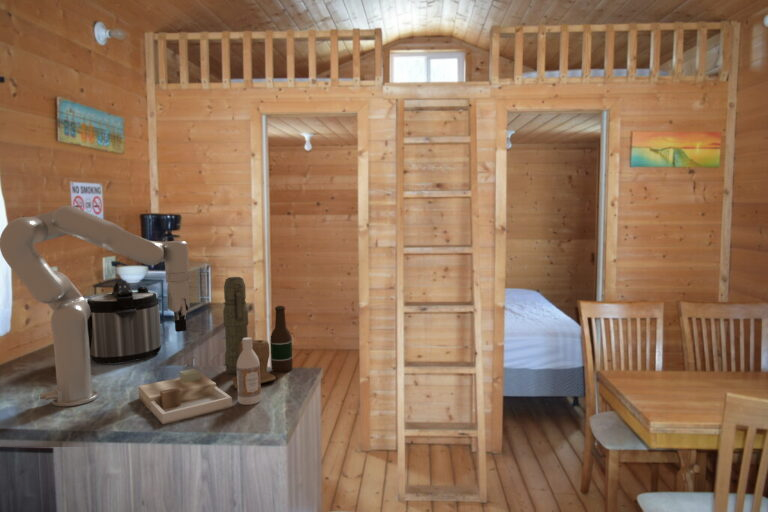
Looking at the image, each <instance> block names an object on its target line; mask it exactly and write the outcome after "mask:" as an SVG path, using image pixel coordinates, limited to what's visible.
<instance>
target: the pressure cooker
mask: <svg viewBox="0 0 768 512" xmlns="http://www.w3.org/2000/svg"><path fill="white" fill-rule="evenodd" d="M112 288H113V289H112V290H113V291H112V292H111V293H107V294H106V293H104V294H101V295H97V296H94V297H93V296H92V297H89V298H88V299H87V300H86V301H87V303H88V304H89V306H90V311H91V312H90V316H89V318H88V320H87V327H88V336H89V348H90V360H92V361H93V362H94V363H97V364H107V365H108V364H109V365H113V364H121V363H122V364H123V363H128V362H133V361H141V360H144V359H147V358H150V357H152V355H153V356H155V355H156V354H159V352H160V351H161V348H162V333H161V316H160V315H161V314H160V313H161V312H160V303H159V299H158V297H157V293H155V292H150V291H149V289H148V287H146V286H139V287H138V288H137V290H136V291H132V290H131V288H130V286H129V284H128V282H127V281H126V280H119V281H116V282H115V285H113V287H112Z"/></svg>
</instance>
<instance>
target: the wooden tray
mask: <svg viewBox="0 0 768 512" xmlns="http://www.w3.org/2000/svg"><path fill="white" fill-rule="evenodd" d="M213 387H217V383H216V382H215V381H213V380H211V378H209V377H208V376H206V375H204V374H203V373H201V372H200V380H195V381H191V382H186V383H185V382H183V381H182V380H181V379H180V377H176V378H171V379H166V380H162V381H157V382H153V383H147V384H142V385H138V387H137V388H138V399H139V400H140V402H142V404H143V405H144V406H145V407H146V408H147V409H148V411H150V412H151V405H150V401H155V402H156V403H157V404H158V405H159V406H160V407H161V395H160V391H164V390H169V389H173V388H179V389H180V399H181V402H185V401H190V400H194V399H198V398H203V397H207V396H211V395H214V391H213Z"/></svg>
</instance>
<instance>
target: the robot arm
mask: <svg viewBox="0 0 768 512" xmlns="http://www.w3.org/2000/svg"><path fill="white" fill-rule="evenodd" d="M67 235H69V236H72V237H73V238H78V239H79V240H82V241H84V242H88V243H90V244H92V245H95V246H98V247H100V248H102V249H105V250H107V251H110V252H113V253H115V254H119V255H120V256H122V257H125V258H126V259H127V258H128V259H129V260H133V261H136V262H138V263H140V264H144V265H147V266H156V265H158V264H160V263H163V262H164V269H165V283H167V285H166V286H167V288H166V289H167V290H166V293H167V295H166V296H167V297H166V300H167V306H166V307H167V309H168V310H169V311H171V312H173V316H174V317H173V318H174V329H175V330H174V331H175V332H177V333H179V332H185V331H187V320H186V318H187V317H186V316H187V312H188V311H190V308H191V307H190V305H191V303H190V302H191V301H190V290H189V283H188V282H191V276H190V258H189V243H188V242H187V241H184V240H171V241H155V240H149V239H147V238H143V237H141V236H139V235H137V234H134V233H131V232H130V231H127V230H126V229H124V228H122V227H121V226H119V225H118V224H116V223H115V222H112V221H109V220H107V219H104V218H102V217H100V216H97V215H94V214H92V213H89V212H87V211H85V210H82V209H81V208H79V207H77V206H74V205H73V206H72V205H62V206H60V207H58V208H57V209H55V210H52V211H49V212H44V213H41V214H38V215H34V216H21V217H17V218H14V219H13V220H11V221H9V222H8V224H6V226H5V227H4V229H3V230H2V232H1V234H0V253H1V256H2V258H3V259H4V261H5V262H6V263H7V265H8V266H9V268H10V269H11V271H13V273H14V274H15V275H16V276H17V278H18V279H19V280H20V282H21V283H22V285H24V287H25V288H26V289H27V290H28V292H29V293H30V295H31V296H32V297H33V298H34V300H36V301H37V302H39V303H41V304H45V305H46V304H47V305H48V306H49V308H50V309H51V310H52V313H51V317H50V327H51V333H52V334H51V335H52V340H53V351H54V353H53V354H54V362H55V377H56V379H55V380H56V386H55V387H54V389H51V391H48V392H41V393H39V400H40V401H41V400H45V401H47V400H51V399H52V400H51V404H52V405H53V406H55V407H73V406H79V405H83V404H87V403H89V402H92V401H93V400H96V399H97V398H98V397H99V392H98V391H97V390H94V389H93V381H92V365H91V357H90V348H89V336H88V327H87V320H88V318H89V316H90V312H91V311H90V306H89V304H88V303H87V300H86V299H85V297H84V296H83V295H82V293H81V292H80V291H79V290H78V289H77V287H76V286H75V285H74V283H73V282H72V281H71V280H70V278H69V277H68V276H67V275H66V274H64V273H62V272H60V271H58V270H54V269H53V268H52V266H50V265H49V263H47V261H46V259H45V258H44V257H43V255H41V254H40V252H39V251H38V250H37V248H36V246H35V244H39V243H42V242H46V241H50V240H54V239H56V238H60V237H64V236H67Z"/></svg>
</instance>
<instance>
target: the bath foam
mask: <svg viewBox="0 0 768 512" xmlns="http://www.w3.org/2000/svg"><path fill="white" fill-rule="evenodd" d="M252 340H253V338H252V337H249V336H248V337H247V338H243V339H242V344H243V351H242V352H241V354H240V356H239V358H238V360H237V374H236V376H237V388H236V390H237V403H239V404H240V405H243V406H249V405H255V404H258V403H260V401H261V399H262V391H261V390H262V388H261V387H262V386H261V384H260V363H259V359H258V357H257V355H256V353H255V352H254V351H253V349H252Z"/></svg>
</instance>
